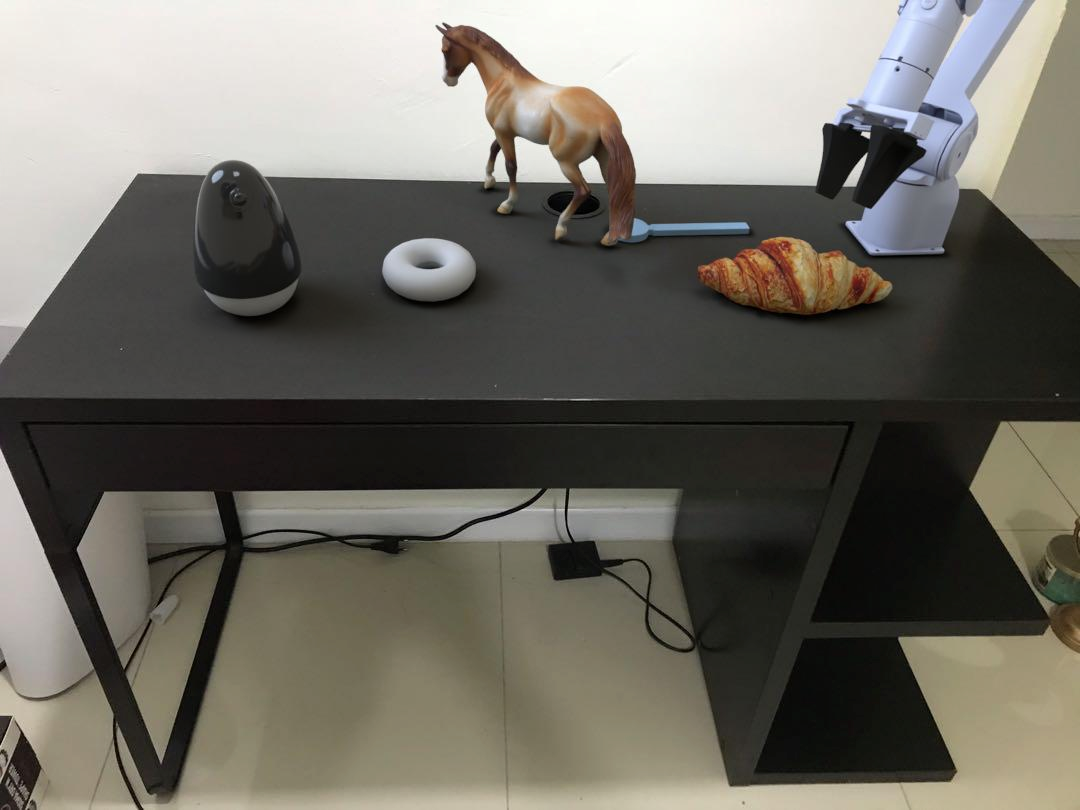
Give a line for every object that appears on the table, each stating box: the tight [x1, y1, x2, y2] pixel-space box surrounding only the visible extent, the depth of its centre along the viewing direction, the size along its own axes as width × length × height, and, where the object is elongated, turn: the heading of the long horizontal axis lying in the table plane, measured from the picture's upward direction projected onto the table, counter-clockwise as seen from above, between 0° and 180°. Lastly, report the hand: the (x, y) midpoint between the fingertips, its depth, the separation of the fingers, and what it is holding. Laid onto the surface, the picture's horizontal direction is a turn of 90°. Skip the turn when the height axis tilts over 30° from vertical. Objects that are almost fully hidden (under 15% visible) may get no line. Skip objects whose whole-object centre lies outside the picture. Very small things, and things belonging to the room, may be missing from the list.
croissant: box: [696, 236, 893, 316], centre depth 98 cm, size 21×10×8 cm, turn 90°
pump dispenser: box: [192, 159, 303, 317], centre depth 89 cm, size 10×10×15 cm
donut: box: [381, 237, 477, 302], centre depth 97 cm, size 10×4×10 cm
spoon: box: [618, 217, 751, 244], centre depth 110 cm, size 17×5×1 cm, turn 98°
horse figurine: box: [435, 21, 637, 247], centre depth 103 cm, size 31×8×21 cm, turn 45°
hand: (841, 200), depth 93 cm, fingers open, 7 cm apart
